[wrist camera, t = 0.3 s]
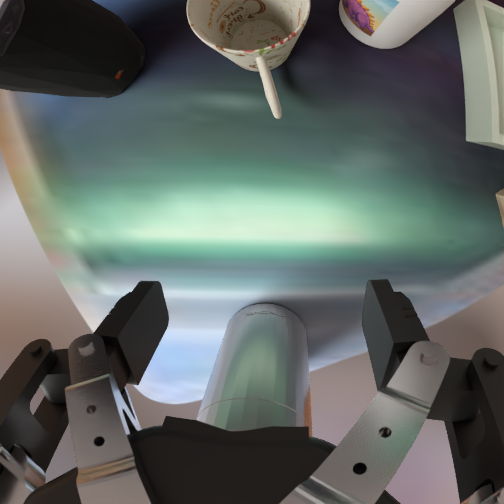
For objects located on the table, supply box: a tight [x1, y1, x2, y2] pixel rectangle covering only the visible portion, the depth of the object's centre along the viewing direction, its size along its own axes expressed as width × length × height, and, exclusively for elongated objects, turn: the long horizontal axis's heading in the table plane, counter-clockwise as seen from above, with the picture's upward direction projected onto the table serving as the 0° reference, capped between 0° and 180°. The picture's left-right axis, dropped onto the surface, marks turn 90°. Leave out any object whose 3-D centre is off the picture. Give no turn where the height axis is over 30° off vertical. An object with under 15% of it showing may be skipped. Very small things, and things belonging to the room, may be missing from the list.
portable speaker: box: [0, 0, 146, 98], centre depth 17 cm, size 9×9×20 cm
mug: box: [186, 0, 310, 119], centre depth 20 cm, size 8×13×10 cm, turn 16°
